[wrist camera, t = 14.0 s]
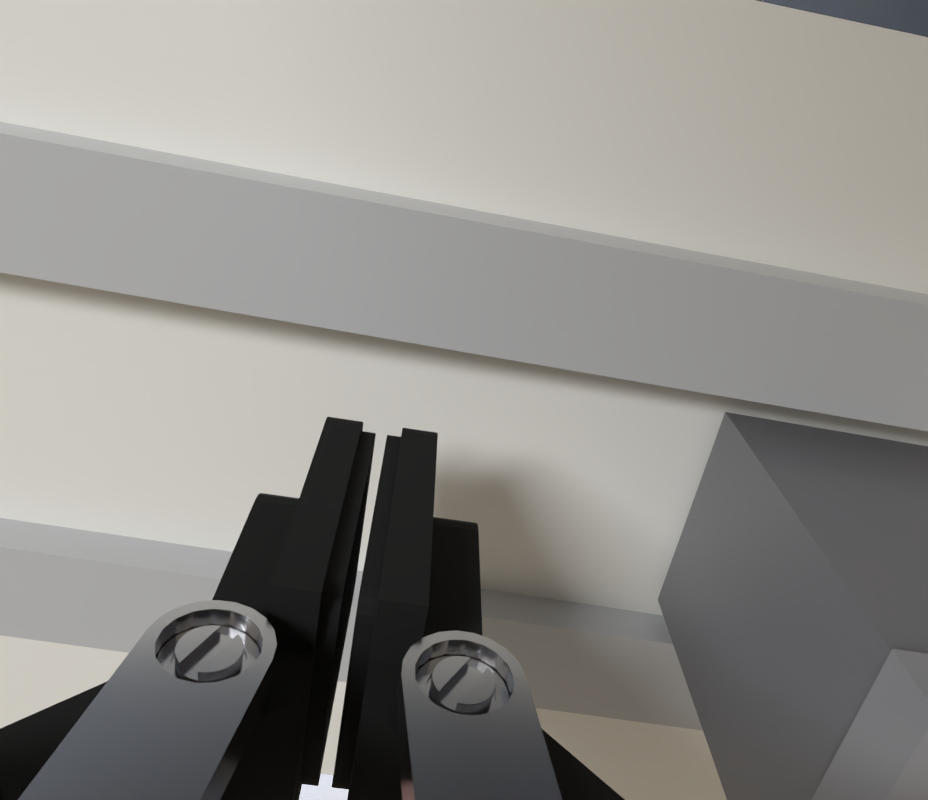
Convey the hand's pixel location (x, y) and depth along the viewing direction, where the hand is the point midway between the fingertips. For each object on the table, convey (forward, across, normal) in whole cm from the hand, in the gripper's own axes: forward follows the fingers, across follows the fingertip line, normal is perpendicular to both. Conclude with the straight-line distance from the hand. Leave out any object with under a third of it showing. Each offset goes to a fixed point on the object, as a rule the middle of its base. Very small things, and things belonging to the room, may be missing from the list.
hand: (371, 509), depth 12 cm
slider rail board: (+5, 0, 0) cm, 5 cm away
